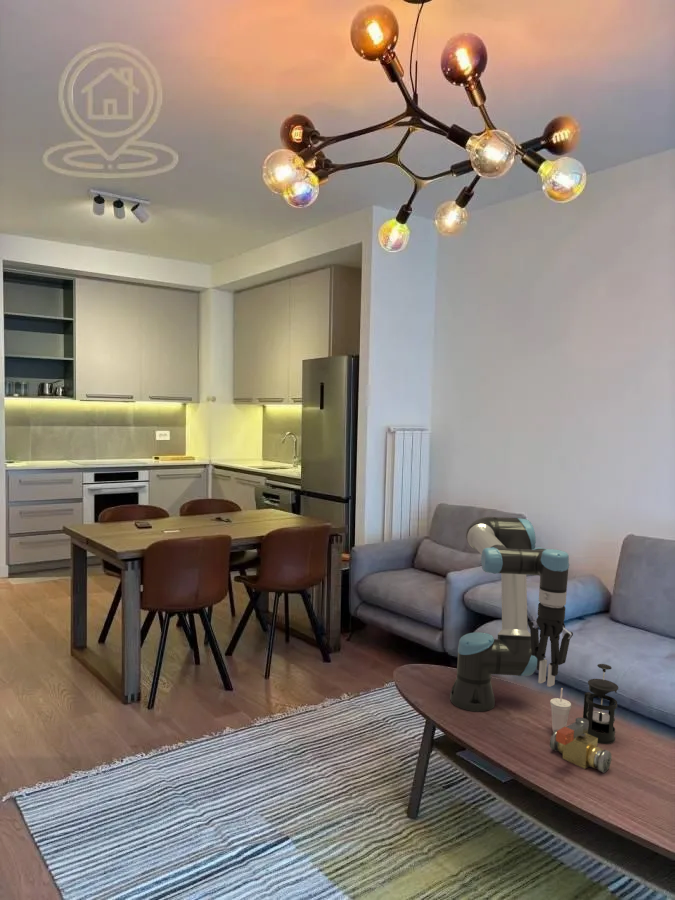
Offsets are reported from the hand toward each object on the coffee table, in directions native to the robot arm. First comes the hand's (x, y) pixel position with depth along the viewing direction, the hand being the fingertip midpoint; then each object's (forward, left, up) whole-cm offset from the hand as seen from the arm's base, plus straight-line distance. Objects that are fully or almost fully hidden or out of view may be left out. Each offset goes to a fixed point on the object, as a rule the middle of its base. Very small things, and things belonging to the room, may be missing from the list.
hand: (546, 683), depth 195 cm
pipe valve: (+8, +8, -22) cm, 25 cm away
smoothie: (-5, +19, -23) cm, 30 cm away
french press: (+4, +27, -23) cm, 36 cm away
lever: (+8, +3, -14) cm, 16 cm away
